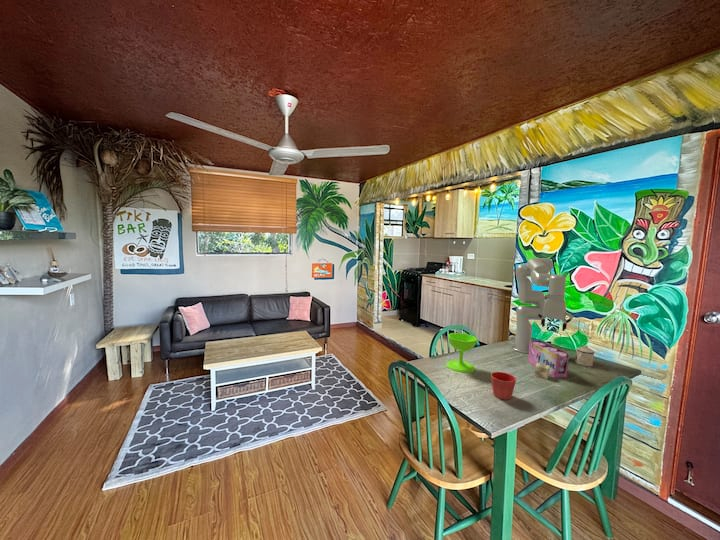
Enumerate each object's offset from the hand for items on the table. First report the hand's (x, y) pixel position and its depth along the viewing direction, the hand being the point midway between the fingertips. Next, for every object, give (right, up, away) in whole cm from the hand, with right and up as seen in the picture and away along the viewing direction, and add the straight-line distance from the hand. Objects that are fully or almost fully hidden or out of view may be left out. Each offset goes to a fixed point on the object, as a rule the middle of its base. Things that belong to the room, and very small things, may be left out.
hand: (553, 328), depth 164 cm
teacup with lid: (+32, -27, +21) cm, 46 cm away
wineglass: (-48, -25, +10) cm, 55 cm away
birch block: (-6, -27, +1) cm, 28 cm away
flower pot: (-39, -28, -22) cm, 53 cm away
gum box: (+3, -27, +11) cm, 29 cm away
